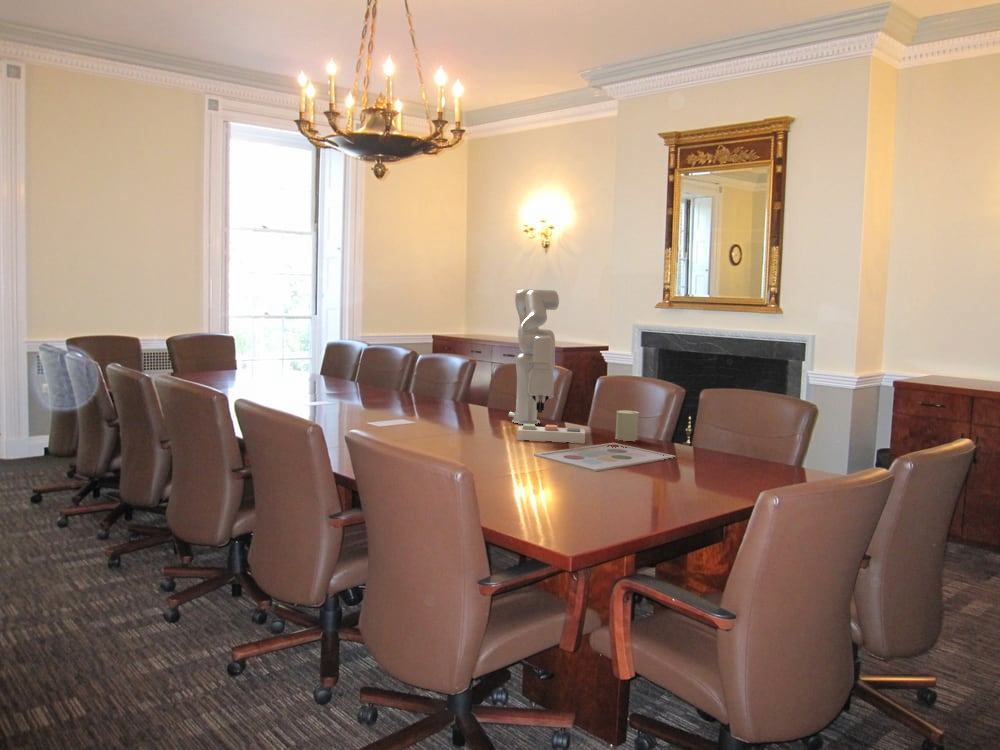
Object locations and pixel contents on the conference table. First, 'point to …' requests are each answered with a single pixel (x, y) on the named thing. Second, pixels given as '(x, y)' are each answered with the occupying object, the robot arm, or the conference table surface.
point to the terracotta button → (551, 427)
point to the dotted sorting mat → (604, 456)
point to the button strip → (551, 435)
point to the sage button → (529, 426)
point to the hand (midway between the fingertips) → (539, 412)
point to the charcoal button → (573, 430)
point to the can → (627, 425)
